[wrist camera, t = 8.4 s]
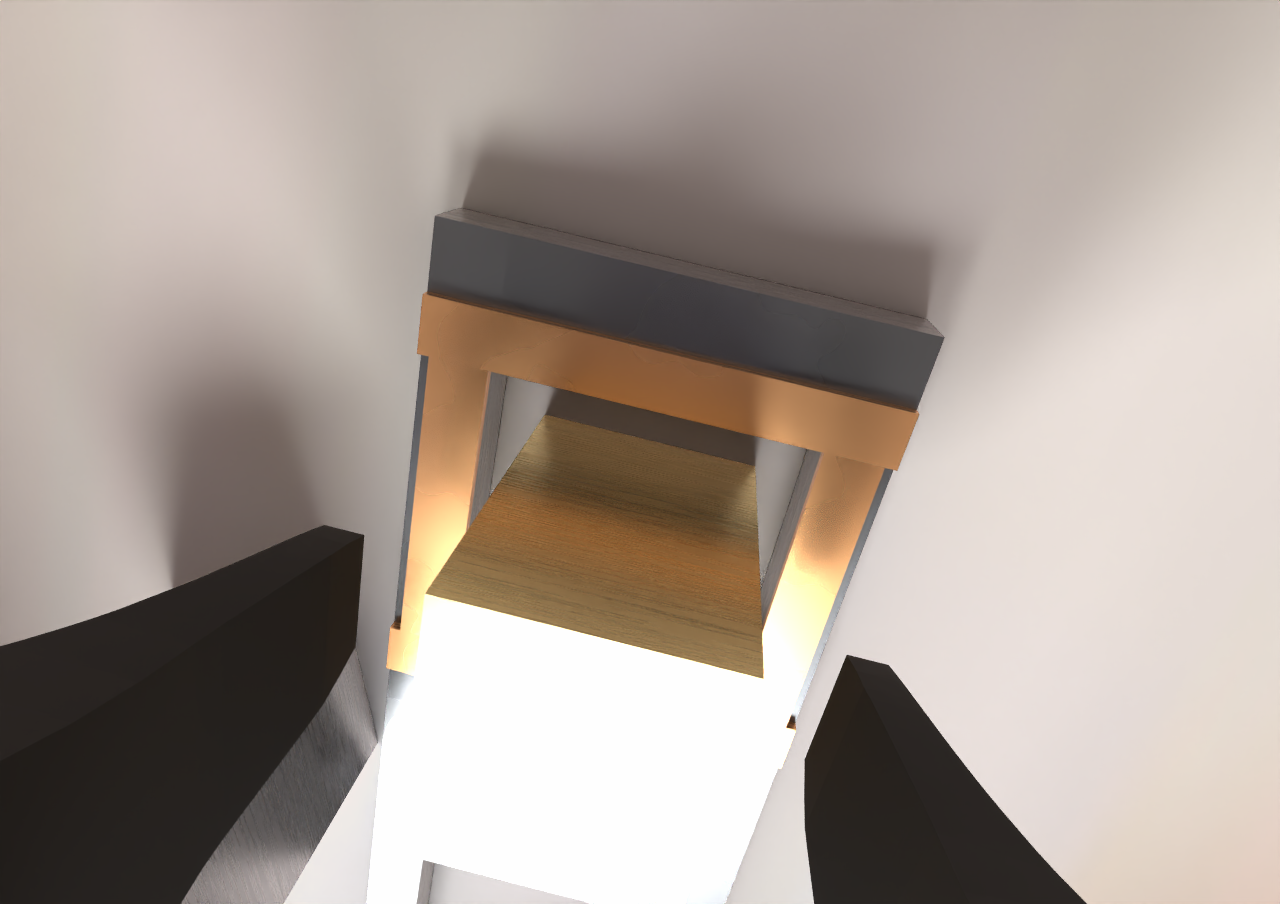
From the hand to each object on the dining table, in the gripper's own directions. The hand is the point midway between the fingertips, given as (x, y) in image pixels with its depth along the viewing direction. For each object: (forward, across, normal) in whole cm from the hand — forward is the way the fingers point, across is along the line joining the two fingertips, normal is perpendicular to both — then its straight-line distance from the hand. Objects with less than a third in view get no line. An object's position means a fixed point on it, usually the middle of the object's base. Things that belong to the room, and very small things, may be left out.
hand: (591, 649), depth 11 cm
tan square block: (+4, 0, 0) cm, 4 cm away
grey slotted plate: (+4, 0, +6) cm, 7 cm away
